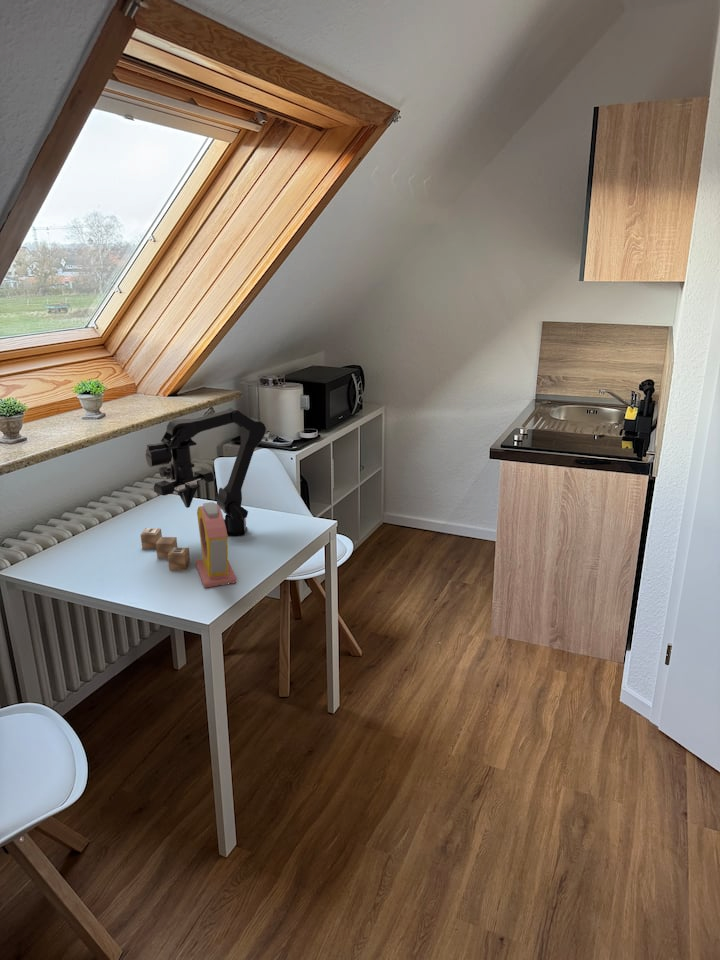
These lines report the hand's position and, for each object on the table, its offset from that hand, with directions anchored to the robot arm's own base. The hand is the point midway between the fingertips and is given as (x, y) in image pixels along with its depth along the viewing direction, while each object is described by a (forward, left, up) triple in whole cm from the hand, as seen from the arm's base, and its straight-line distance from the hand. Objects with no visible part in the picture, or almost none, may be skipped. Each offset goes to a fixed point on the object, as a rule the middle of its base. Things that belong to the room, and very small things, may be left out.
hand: (187, 507), depth 220 cm
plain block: (+5, +9, -13) cm, 16 cm away
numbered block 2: (-1, +17, -13) cm, 21 cm away
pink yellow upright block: (-13, +22, -13) cm, 28 cm away
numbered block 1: (+12, +2, -13) cm, 18 cm away
